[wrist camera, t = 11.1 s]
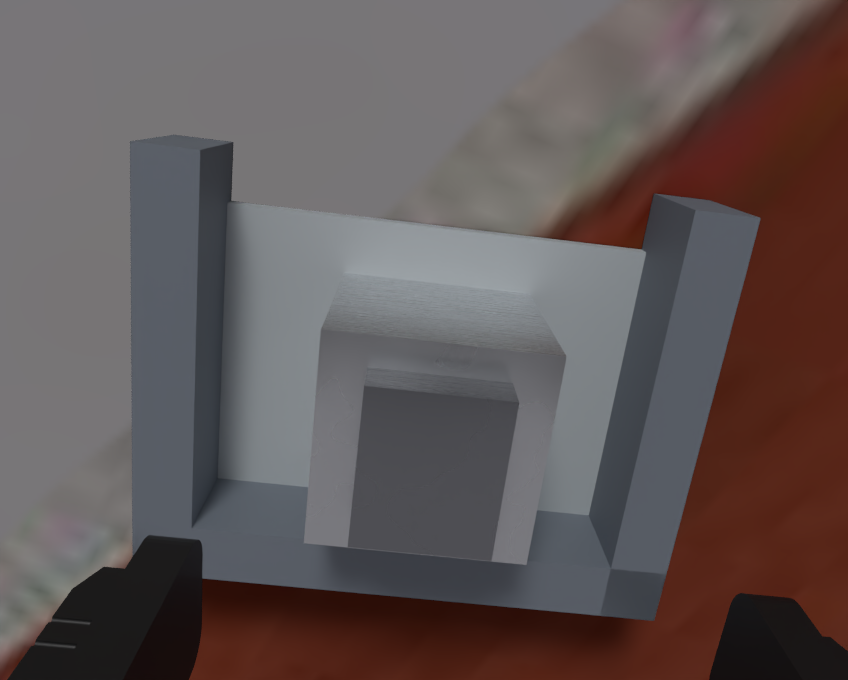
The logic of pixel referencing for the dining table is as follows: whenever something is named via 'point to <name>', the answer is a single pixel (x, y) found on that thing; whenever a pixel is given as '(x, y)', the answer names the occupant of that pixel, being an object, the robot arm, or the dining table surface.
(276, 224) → the chassis bay
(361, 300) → the grey recessed-face cube
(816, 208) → the dining table surface
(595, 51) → the dining table surface
